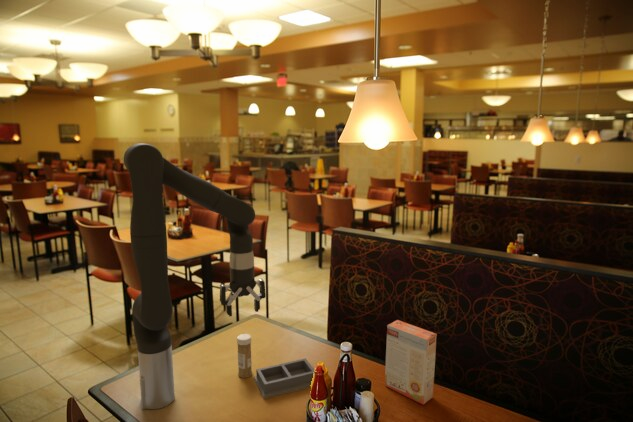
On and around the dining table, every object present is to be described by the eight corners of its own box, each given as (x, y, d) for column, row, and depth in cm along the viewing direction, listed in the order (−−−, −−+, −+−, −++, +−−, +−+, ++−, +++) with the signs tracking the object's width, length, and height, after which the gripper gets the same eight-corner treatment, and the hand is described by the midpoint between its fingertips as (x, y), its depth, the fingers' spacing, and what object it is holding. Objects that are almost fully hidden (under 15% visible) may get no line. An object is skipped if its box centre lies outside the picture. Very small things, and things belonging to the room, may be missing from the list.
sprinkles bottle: (254, 375, 138) (253, 337, 135) (241, 379, 135) (240, 341, 133) (248, 369, 142) (247, 331, 139) (235, 373, 139) (234, 335, 137)
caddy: (264, 398, 126) (264, 386, 125) (254, 379, 136) (254, 368, 135) (319, 384, 133) (319, 373, 132) (305, 367, 143) (305, 356, 142)
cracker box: (433, 397, 127) (437, 333, 123) (423, 406, 123) (427, 340, 119) (394, 378, 137) (397, 318, 133) (383, 386, 133) (386, 324, 129)
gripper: (221, 271, 125) (223, 322, 128) (267, 265, 131) (268, 314, 134) (216, 264, 132) (218, 312, 135) (260, 258, 138) (261, 305, 141)
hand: (243, 313), depth 134 cm, fingers open, 8 cm apart
